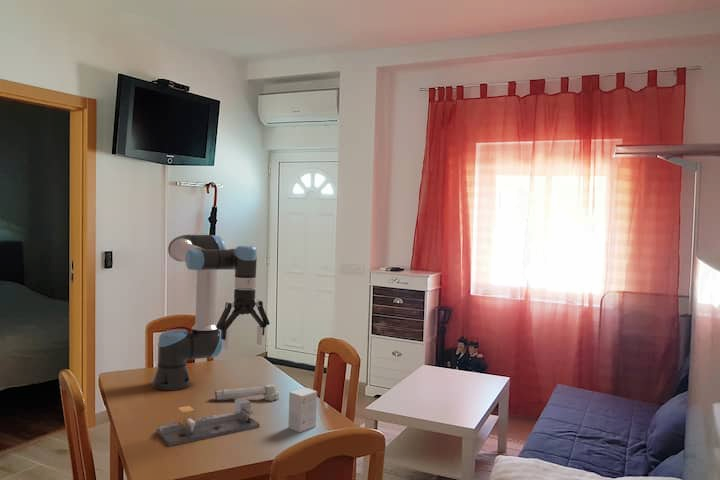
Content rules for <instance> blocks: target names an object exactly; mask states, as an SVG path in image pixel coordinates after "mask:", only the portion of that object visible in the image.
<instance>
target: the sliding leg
mask: <svg viewBox="0 0 720 480" xmlns="http://www.w3.org/2000/svg"><path fill="white" fill-rule="evenodd" d="M195 411H196V410H195V409H194V408H193V407H191V406H190V405H187V406H179V407H177V421H178V422H180V423H181V424H182V425H186V424H189V425H190V426H191V432H194V426H195V421H194V419H195V414H196V413H195Z"/></svg>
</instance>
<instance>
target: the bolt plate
mask: <svg viewBox="0 0 720 480" xmlns="http://www.w3.org/2000/svg"><path fill="white" fill-rule="evenodd" d="M251 403H252V402H251V401H250V400H249V399H247V397H242V398H235V399H234V411H233V412H227V413H221V414H216V415H211V416H205V417H201V418H194V421H195V426H194V432H191V426H190V425H189V424H186V425H182V424H181V423H180V422H179V421H178V422H174V423H168V424H164V425H159V428H156V429H155V433H156V434H157V435H158V436H159V437H160V438H161V440H162V441H163V442H164V443H165V444H166V445H167V446H168V447H173V446H177V445H178V446H179V445H184V444H188V443H192V442H196V441H201V440H206V439H211V438H215V437H220V436H225V435H229V434H235V433H238V432H243V431H248V430H253V429H257V428H260V427H261V426H260V423H259V422H258V421H257V420H255V419H253V417H252V415H254V413H253V410H252V409H251V408H252V407H251V406H252V405H251Z"/></svg>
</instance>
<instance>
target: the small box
mask: <svg viewBox="0 0 720 480" xmlns="http://www.w3.org/2000/svg"><path fill="white" fill-rule="evenodd" d="M288 401H289V402H288V426H287V427H288V429H289V430H290V429H291V430H293V431H295V432H298V433H302V432H305V431H308V430H310V429H312V428H315V427H317V410H318V409H317V406H318V402H317V401H318V391H317V390H314V389H312V388H309V387H302V388H299V389H296V390H295V389H294V390H292V391H289V397H288Z"/></svg>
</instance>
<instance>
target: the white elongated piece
mask: <svg viewBox="0 0 720 480" xmlns="http://www.w3.org/2000/svg"><path fill="white" fill-rule="evenodd" d="M279 394H280V391H279V390H277V385H276V384H273V383H272V384H266V385H264V386H253V387H243V388H240V387H239V388H229V389H226V388H223V389H220V390H215V391H214V397H215V401H216V402H217V401H218V402H220V401H225V402H226V401H227V400H228V401H229V400H236V399H242V398H247V397H253V396H254V397H255V396H261V395H263V397H264V401H267V400H268V401H270V402H273V401H275V400H279ZM268 401H267V402H268Z"/></svg>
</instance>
